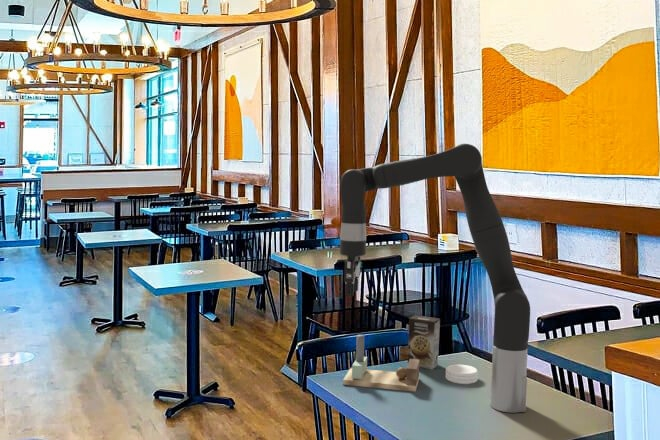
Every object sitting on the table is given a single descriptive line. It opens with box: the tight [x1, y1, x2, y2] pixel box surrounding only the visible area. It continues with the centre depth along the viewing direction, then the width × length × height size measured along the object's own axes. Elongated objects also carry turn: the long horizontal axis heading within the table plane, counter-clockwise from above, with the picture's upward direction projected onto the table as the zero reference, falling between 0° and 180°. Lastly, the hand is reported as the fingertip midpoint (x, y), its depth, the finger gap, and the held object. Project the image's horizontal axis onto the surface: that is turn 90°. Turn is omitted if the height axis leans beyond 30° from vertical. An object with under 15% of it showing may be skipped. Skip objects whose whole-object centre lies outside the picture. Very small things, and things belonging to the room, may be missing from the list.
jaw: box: [351, 334, 368, 379], centre depth 193 cm, size 3×10×12 cm, turn 167°
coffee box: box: [407, 314, 441, 370], centre depth 210 cm, size 9×6×16 cm
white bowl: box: [445, 364, 479, 385], centre depth 197 cm, size 10×10×4 cm
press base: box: [342, 359, 420, 393], centre depth 192 cm, size 22×12×6 cm, turn 77°
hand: (351, 293), depth 181 cm, fingers open, 8 cm apart
